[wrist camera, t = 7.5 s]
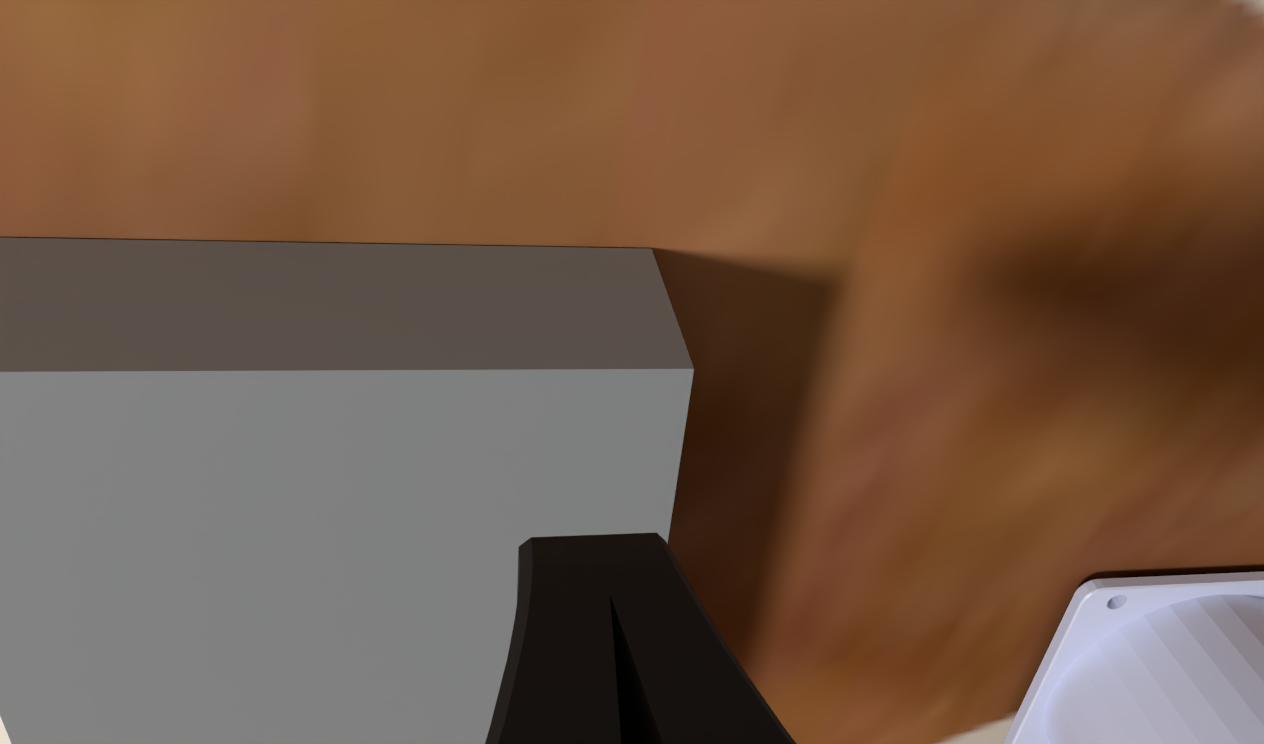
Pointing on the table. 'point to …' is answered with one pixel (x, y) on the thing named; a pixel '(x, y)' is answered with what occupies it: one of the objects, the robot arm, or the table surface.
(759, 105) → the table surface
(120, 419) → the grey rectangular block
